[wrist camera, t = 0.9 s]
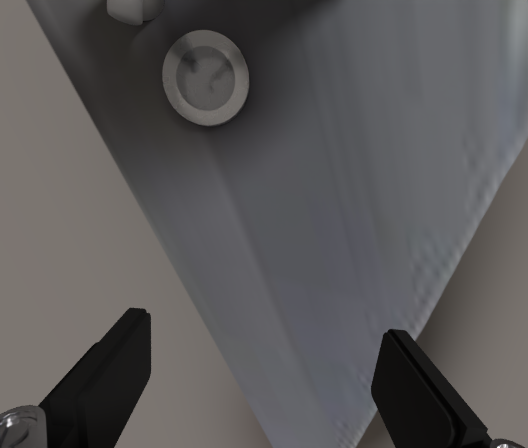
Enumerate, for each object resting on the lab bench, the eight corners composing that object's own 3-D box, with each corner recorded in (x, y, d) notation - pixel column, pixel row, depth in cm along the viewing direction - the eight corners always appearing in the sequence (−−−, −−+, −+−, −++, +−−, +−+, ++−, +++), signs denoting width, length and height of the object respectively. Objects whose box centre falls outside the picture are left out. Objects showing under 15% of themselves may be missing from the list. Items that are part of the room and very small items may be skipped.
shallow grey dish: (168, 30, 30) (163, 23, 29) (254, 42, 31) (253, 36, 29) (165, 121, 33) (160, 119, 31) (244, 131, 33) (244, 130, 32)
